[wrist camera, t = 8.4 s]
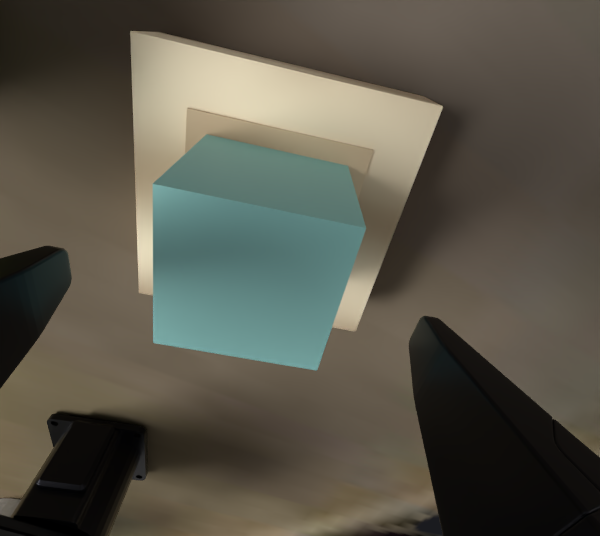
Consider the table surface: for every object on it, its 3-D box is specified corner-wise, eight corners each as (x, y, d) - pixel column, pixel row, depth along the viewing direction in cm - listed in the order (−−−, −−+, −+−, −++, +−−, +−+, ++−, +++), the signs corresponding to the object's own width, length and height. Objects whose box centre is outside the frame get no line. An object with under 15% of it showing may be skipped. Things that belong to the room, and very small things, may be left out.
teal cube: (315, 279, 16) (316, 370, 11) (197, 257, 15) (153, 343, 11) (348, 165, 13) (366, 228, 9) (206, 134, 12) (152, 183, 8)
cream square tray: (350, 299, 19) (355, 332, 17) (158, 263, 18) (138, 294, 16) (423, 96, 14) (444, 107, 12) (159, 32, 13) (129, 30, 11)
